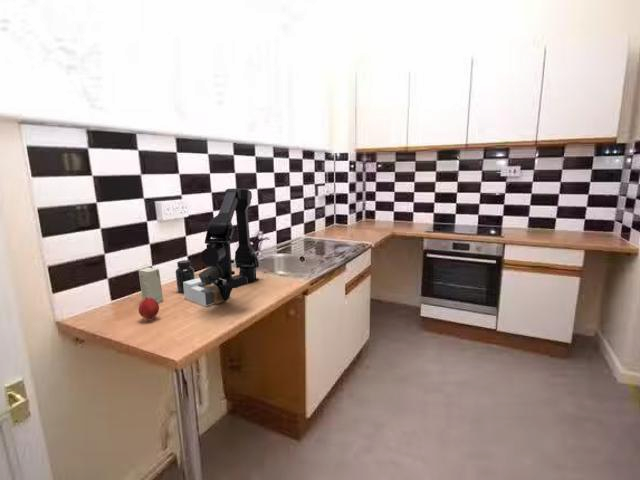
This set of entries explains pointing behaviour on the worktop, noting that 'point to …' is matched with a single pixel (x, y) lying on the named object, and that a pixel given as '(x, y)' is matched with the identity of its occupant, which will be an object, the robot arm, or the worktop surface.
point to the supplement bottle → (183, 274)
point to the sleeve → (198, 292)
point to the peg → (215, 293)
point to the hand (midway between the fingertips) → (225, 300)
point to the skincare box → (151, 284)
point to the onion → (148, 308)
